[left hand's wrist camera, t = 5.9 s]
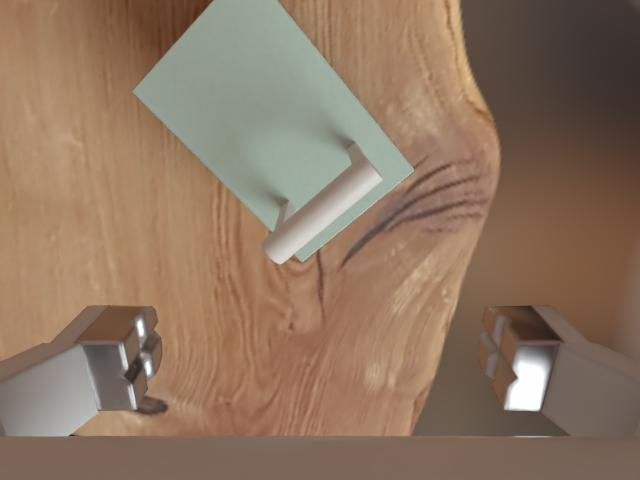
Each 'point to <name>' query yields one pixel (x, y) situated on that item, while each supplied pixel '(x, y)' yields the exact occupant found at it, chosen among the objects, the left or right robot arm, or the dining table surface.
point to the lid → (273, 123)
